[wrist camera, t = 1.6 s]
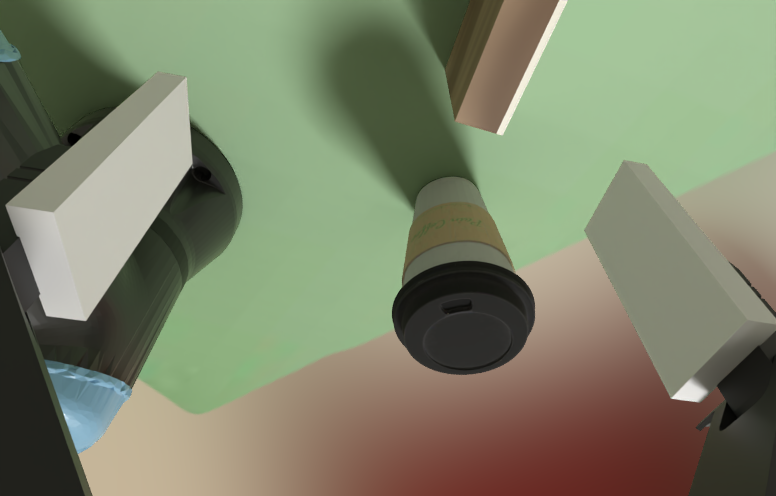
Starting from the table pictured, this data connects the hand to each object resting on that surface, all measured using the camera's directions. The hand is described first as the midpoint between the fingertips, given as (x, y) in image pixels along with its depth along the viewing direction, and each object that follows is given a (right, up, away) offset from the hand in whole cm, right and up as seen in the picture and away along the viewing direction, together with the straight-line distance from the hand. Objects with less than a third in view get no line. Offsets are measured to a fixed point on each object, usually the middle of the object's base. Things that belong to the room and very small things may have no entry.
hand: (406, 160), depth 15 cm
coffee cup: (+5, +1, +28) cm, 28 cm away
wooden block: (+6, +14, +17) cm, 23 cm away
